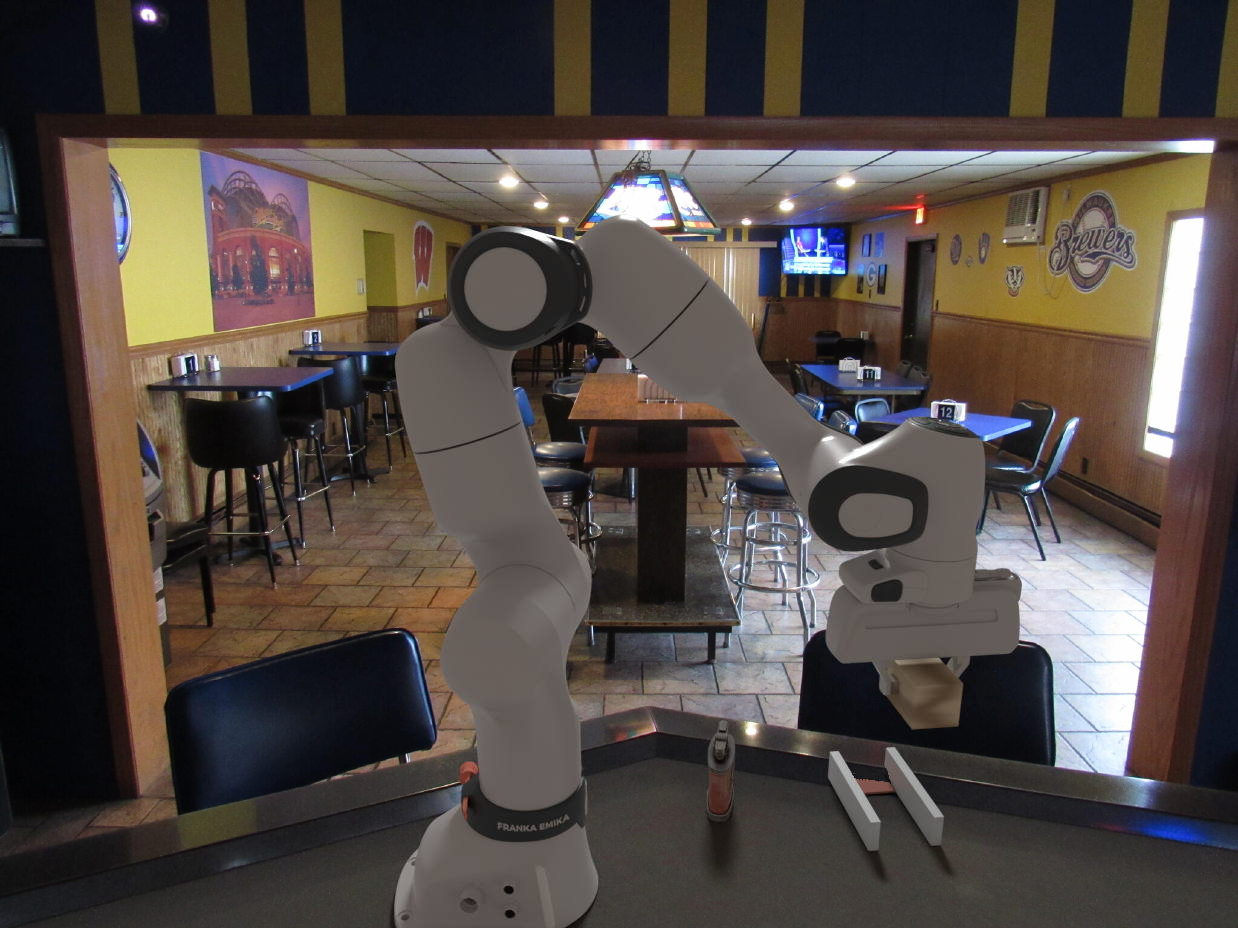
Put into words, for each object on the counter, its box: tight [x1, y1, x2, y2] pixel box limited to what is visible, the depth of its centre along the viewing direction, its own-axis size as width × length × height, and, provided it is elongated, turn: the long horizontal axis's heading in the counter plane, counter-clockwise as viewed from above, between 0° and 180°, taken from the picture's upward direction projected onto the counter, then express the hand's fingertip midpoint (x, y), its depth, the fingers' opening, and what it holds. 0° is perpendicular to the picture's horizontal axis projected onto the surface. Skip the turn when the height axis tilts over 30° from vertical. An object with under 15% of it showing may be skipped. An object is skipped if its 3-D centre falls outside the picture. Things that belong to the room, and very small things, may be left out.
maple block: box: [885, 658, 964, 730], centre depth 90 cm, size 5×7×5 cm
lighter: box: [706, 720, 736, 823], centre depth 108 cm, size 8×3×10 cm, turn 168°
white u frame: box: [827, 746, 945, 852], centre depth 107 cm, size 9×14×4 cm, turn 6°
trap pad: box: [855, 778, 896, 796], centre depth 112 cm, size 6×4×1 cm, turn 96°
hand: (916, 690), depth 91 cm, fingers closed on maple block, 5 cm apart
